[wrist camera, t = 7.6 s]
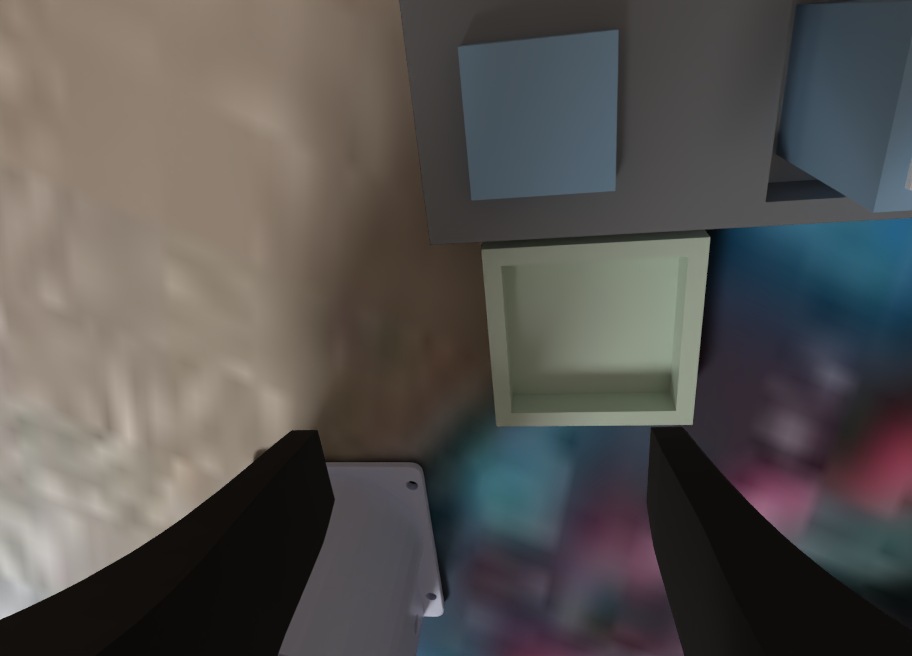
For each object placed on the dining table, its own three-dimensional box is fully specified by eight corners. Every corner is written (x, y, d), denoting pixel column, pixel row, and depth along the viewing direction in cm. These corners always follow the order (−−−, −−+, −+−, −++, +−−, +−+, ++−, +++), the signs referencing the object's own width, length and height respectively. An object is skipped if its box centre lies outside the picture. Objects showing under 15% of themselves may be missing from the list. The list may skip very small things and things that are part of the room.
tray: (681, 396, 23) (692, 424, 21) (499, 399, 24) (496, 426, 22) (696, 219, 20) (710, 237, 18) (485, 231, 21) (481, 249, 19)
